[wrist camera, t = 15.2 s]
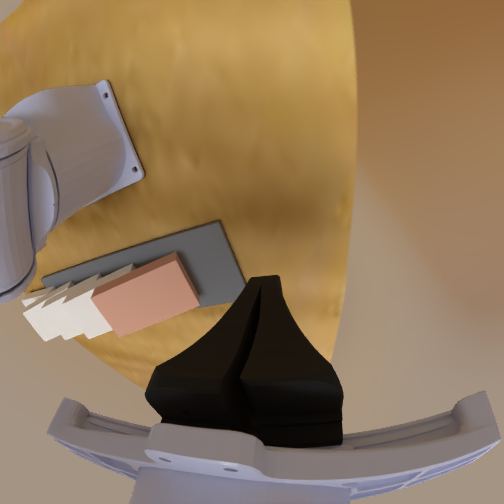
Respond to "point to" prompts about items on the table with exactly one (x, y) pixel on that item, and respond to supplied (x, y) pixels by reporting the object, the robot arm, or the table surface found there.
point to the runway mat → (190, 253)
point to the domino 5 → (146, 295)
